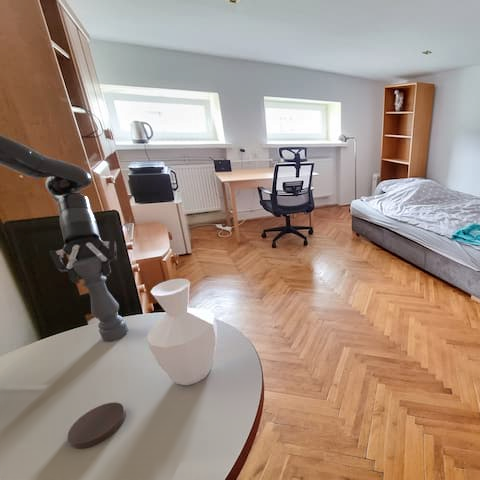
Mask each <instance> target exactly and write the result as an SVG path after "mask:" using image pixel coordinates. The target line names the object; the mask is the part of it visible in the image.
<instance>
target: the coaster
mask: <svg viewBox="0 0 480 480" xmlns="http://www.w3.org/2000/svg"><path fill="white" fill-rule="evenodd" d="M126 418H127V412H126V409H125V407H124V405H123V404H122V403H120V402H115V401H114V402H108V403H104V404H103V403H102V404H101V405H99V406H96V407H94V408H92V409H90V410H89V411H87V412H86V413H84V414H83V415H81V416H80V417H79V418H77V420H76V421H75V422H74V423H73V424H72V425H71V427H70V428H69V429H68V432H67V441H68V443H69V444H70V446H71V447H72V448H74V449H78V450H81V449H87V448H90V447H91V448H92V447H93V446H96V445H98V444H100V443H102V442H104V441H105V440H107V439H109V438H110V437H111V436H112V435H114V434H115V433H116V432H117V431H118V430H119V429H120V428H121V427H122V426H123V424H124V422H125V421H126Z"/></svg>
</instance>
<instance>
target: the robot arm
mask: <svg viewBox="0 0 480 480" xmlns="http://www.w3.org/2000/svg"><path fill="white" fill-rule="evenodd" d="M0 165H1V166H3V167H5V168H7V169H9V170H12V171H14V172H17V173H19V174H21V175H23V176H26V177H28V178H31V179H39V180H40V179H43V178H45V181H44V187H45V189H46V190H47V192H48V193H49V194H50V196H51V198H52V199H53V201H54V202H55V203H56V206H57V209H58V215H59V227H60V229H61V234H62V238H63V244H64V245H63V247H62V249H58V250H54V249H52V250H50V251H49V252H48V253H49V255H50V257H51V260H52V261H53V263H54V266H55V267H56V269H57V270H59V272H60V273H65V272H67V274H68V278H69V280H70V281H71V282H72V283H74V284H75V285H77V284H80V277H79V276H77V274H76V272H75V270H74V268H73V265H72V263H73V262H75V261H77V260H80V259H83V258H87V257H95V256H96V257H100V259H101V263H102V267H103V275H104V276H105V277H109V276H110V274H112V268H111V265H110V264H111V262H115V261H117V242H116V240H115V239H113V238H111V239H109V240H107V241H106V240H105V241H104V240H102V239H101V235H100V231H99V227H98V224H97V219H96V217H95V215H94V212H93V208H92V204H91V201H90V199H89V198H88V196H86V195H85V194H83V193H81V192H80V191H83V190H85V189H87V188H88V187H90V186H91V185H92V182H93V179H92V176H91V174H90V173H89V172H87V170H85V169H84V168H82V167H80V166H78V165H76V164H74V163H70V162H67V161H63V160H60V159H56V158H53V157H50V156H46V155H44V154H42V153H40V152H38V151H37V150H34V149H33V148H31V147H30V146H27V145H25V144H23V143H21V142H19V141H16V140H14V139H12V138H9V137H6V136H4V135H2V134H0ZM104 247H106V249H108V256H105V254H103V253H102V252H101V251H102V250H103V248H104ZM65 254H66V255H68V256H69V258H68V262H67V264H66V265H65V264H64V262H63V260H62V259H63V258H64V255H65Z"/></svg>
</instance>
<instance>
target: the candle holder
mask: <svg viewBox="0 0 480 480" xmlns="http://www.w3.org/2000/svg"><path fill="white" fill-rule="evenodd" d="M72 265H73V268H74V270H75V272H76V274H77V276H78V278H79V279H81V280H82V282H81V285H82V286H83V287H85V288H86V289H87V291H88V294H89V296H90V313H91V316H93V318H96V319H98V321H99V323H98V325H97V327H98V328H99V329H98V332H99V334H100V337H101V340H102V341H103V342H104V343H105V342H106V343H111V342H115V341H118V340H120V339H123V338H124V337H125V336H127V334H128V333H129V328H128V325H127V322H126V321H125V319H124V317H122V316H121V315H119V310H120V304H119V302H117V300H116V299H115V297H113V295H112V294H111V293H110V291H109V290H108V288H107V285H106V281H107V276H105V275H103V274H104V271H103V267H102V263H101V259H100V257H96V256H95V257H87V258H83V259H80V260H77V261H75V262H73V263H72ZM127 332H128V333H127ZM123 336H124V337H123ZM119 338H120V339H119ZM117 339H118V340H117ZM114 340H115V341H114Z"/></svg>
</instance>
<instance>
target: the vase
mask: <svg viewBox="0 0 480 480" xmlns="http://www.w3.org/2000/svg"><path fill="white" fill-rule="evenodd" d="M190 289H191V281H190V280H189V279H188V278H173V279H168V280H165V281H162V282H159V283H158V284H156V285H155V286H153V287H152V289H151V290H150V292H149V293H150V294H151V295H152V296H153V297H154V299H155V300H156V301H157V303H158V305H160V307H161V308H162V310H164V312H165V313H166V315H164V316H163V317H162V318H161V319H159V321H157V323H155V324H154V325H153V326H152V327H151V328H150V330H149V331H148V333H147V336H146V337H145V338H146V342H147V344H148V347H149V350H150V351H151V353H152V355H153V356H154V359H155V361H156V362H157V364H158V366H159V367H160V368H161V369H162V370H163V371H164V372H165V373H166V374H167V376H168V377H169V379H170V380H171V381H172V382H173V384H177V385H182V386H191V385H193V384H197V383H199V382H200V381H202V380H203V379H205V378H207V376H208V375H209V373H210V372H211V370H212V368H213V366H214V361H215V355H216V349H217V342H218V341H217V340H218V324H217V319H216V316H215V314H214V313H212V312H211V311H210V310H208V309H202V308H191V307H189V299H190Z"/></svg>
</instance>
